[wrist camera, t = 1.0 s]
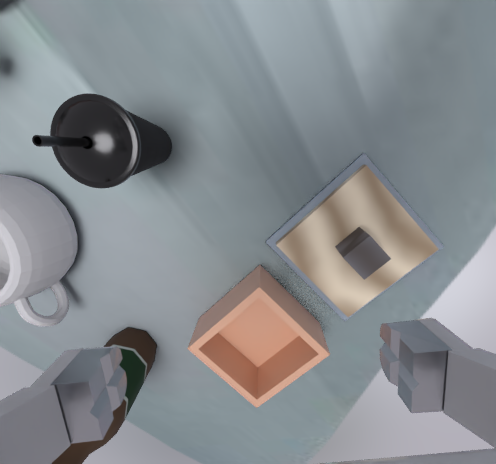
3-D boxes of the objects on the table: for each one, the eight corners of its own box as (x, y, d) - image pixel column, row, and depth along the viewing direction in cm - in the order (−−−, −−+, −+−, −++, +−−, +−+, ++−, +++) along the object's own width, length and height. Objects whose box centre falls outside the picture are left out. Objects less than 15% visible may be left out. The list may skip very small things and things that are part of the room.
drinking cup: (182, 177, 38) (101, 205, 19) (125, 172, 38) (-12, 195, 19) (183, 116, 36) (92, 78, 17) (123, 111, 36) (-34, 68, 17)
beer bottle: (167, 342, 46) (70, 539, 23) (144, 374, 48) (33, 585, 25) (125, 316, 45) (-22, 495, 22) (103, 350, 47) (-53, 547, 24)
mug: (-53, 206, 41) (-149, 224, 32) (35, 149, 38) (-41, 149, 29) (41, 323, 46) (-17, 369, 36) (125, 280, 43) (86, 318, 33)
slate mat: (363, 153, 36) (364, 152, 36) (442, 245, 39) (444, 246, 39) (265, 241, 40) (265, 242, 40) (343, 319, 43) (344, 321, 42)
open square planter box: (259, 264, 41) (259, 286, 34) (319, 322, 43) (330, 354, 36) (198, 318, 44) (187, 348, 37) (257, 370, 46) (256, 407, 39)
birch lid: (363, 164, 36) (379, 167, 31) (433, 246, 39) (459, 260, 34) (275, 242, 40) (277, 255, 35) (345, 312, 42) (356, 334, 37)
